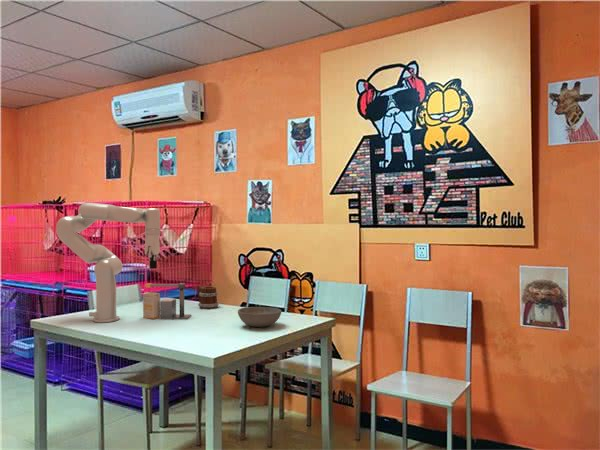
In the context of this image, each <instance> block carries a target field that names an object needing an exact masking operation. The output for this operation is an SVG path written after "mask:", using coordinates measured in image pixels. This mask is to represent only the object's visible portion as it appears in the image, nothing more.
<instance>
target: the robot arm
mask: <svg viewBox="0 0 600 450" xmlns="http://www.w3.org/2000/svg"><path fill="white" fill-rule="evenodd" d="M97 221H104V222H105V221H107V222H122V223H129V224H132V223H133V224H140V223H142V224H143V223H144V236H145V240H144V255H146V256H148V259H149V269H152V270H153V269H154V270H155V269H157V267H158V262H157V261H158V255H159V254H160V253H161V252H160V251H161V245H160V244H161V243H160V242H161V241H160V236H161V210H160V208H154V207H152V208H151V207H150V208H140V207H128V206H127V207H126V206H119V205H114V204H107V203H98V202H83V203H81V204H80V205H79V208H78V214H77V215H67V216H63V217H61V218H59V219H58V221H57V222H56V228H55V231H56V234H57V237H58V239H59V240H60V241H61V242H62V243H63V244H64V245H65V246H67V247H68V248H69V249H70V250H71V251H72V252H73V253H74V254H75V255H77V256H78V257H79V258H80V259H81V260H82V261H83V262H85V263H87V264H94V263H95V265H94V269H93V270H94V271H93V272H94V275H95V291H96V292H95V295H96V297H95V298H96V299H95V300H96V304H95V305H96V306H95V307H96V309H95V311H93V312H91V311H90V312H89V313H88V316H89V317H93V319H92V321H93V322H94V323H111V322H117V321H119V320H120V318H121V317H120V316H118V315H117V281H116V275H119V274H120V273H121V272H122V271H123V268H124V267H123V262H122V261H121V259H120V258H119V257H118V256H117V255H115V254H114V253H113V252H112V251H111V250H110V249H108V248H107V247H105V245H103V244H99V243H98V244H97V243H96V244H95V243H94V244H93V243H91V242H90V241H88V240H87V239H86V238H85V237H84V236H83V235H80V234H79V233H80V232H83V231H85V230H86V229H88V228H89V227H90V226H91V225H92V224H94V223H95V222H97Z"/></svg>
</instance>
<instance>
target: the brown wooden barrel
mask: <svg viewBox="0 0 600 450" xmlns="http://www.w3.org/2000/svg"><path fill="white" fill-rule="evenodd" d="M196 293H197V298H198V304H197V305H198V307H199V309H201V310H214V309H218V306H219V301H218V298H217V297H218V294H219V293H218V292H217V287H216V286H202V285H201V284H197V291H196Z"/></svg>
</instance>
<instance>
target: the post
mask: <svg viewBox="0 0 600 450" xmlns="http://www.w3.org/2000/svg"><path fill="white" fill-rule="evenodd" d="M178 291H179V293H178V294H179V314H177V313H176V315H175V316H174V317H172V319H171V320H188V319H190V318H191V317H192V314H191V313H190V314H189V313H188V314H185V288H179V289H178Z"/></svg>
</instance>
